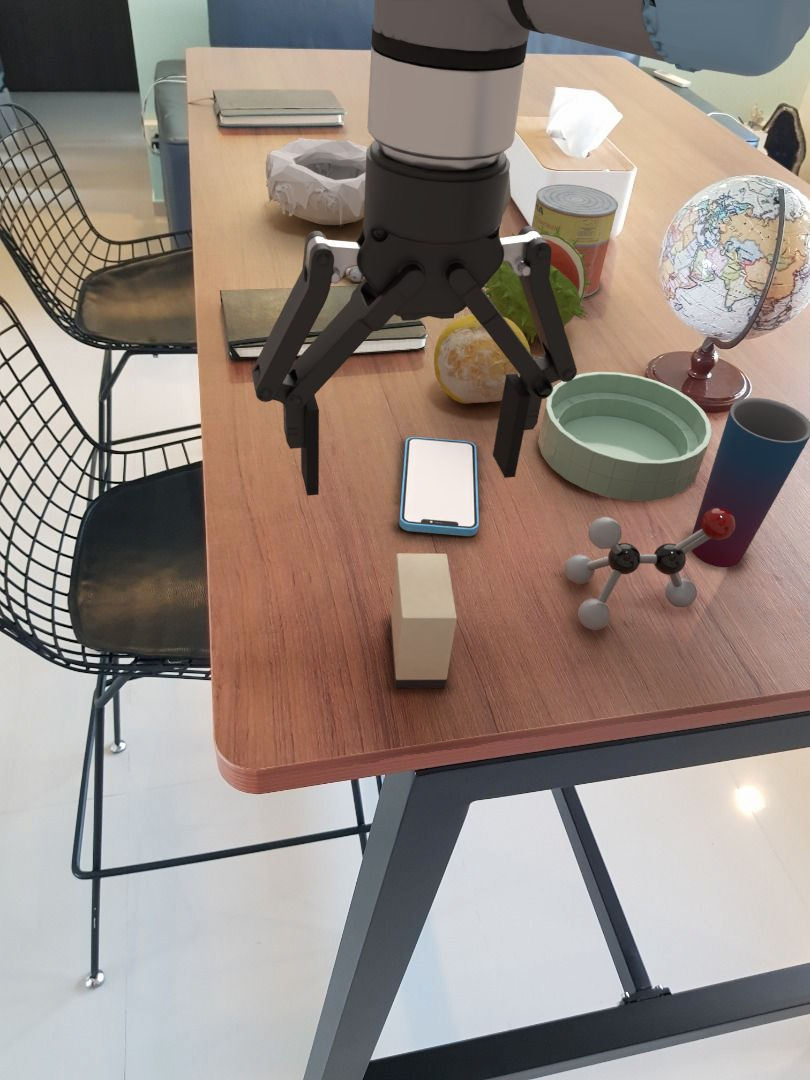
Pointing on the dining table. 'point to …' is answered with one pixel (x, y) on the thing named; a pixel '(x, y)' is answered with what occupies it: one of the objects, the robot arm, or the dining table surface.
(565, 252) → the chestnut
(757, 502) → the cup
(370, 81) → the robot arm
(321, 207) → the bowl
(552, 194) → the canned food
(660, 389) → the celadon bowl
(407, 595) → the eraser
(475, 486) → the smartphone
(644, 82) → the dining table surface
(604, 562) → the molecular model
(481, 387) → the fruit
